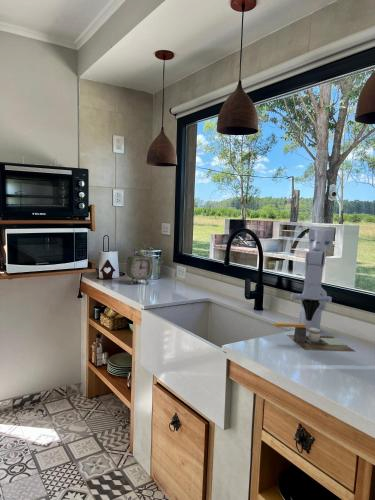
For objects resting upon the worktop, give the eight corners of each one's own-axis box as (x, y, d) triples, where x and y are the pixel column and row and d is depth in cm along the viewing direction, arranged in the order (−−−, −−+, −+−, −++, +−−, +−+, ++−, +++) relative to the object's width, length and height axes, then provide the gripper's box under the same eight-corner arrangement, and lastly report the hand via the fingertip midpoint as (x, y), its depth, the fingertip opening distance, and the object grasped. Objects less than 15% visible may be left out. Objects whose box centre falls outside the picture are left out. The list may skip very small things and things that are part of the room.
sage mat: (319, 338, 141) (319, 337, 141) (336, 339, 142) (336, 338, 142) (329, 345, 134) (329, 344, 134) (347, 345, 135) (347, 344, 135)
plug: (305, 340, 137) (306, 327, 137) (315, 340, 138) (317, 327, 138) (310, 344, 133) (312, 330, 133) (321, 344, 134) (322, 331, 134)
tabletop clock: (129, 285, 220) (131, 243, 217) (124, 282, 227) (126, 242, 225) (151, 284, 227) (154, 244, 224) (145, 282, 235) (148, 243, 232)
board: (286, 337, 143) (288, 321, 142) (331, 338, 145) (333, 322, 145) (304, 352, 127) (306, 334, 126) (355, 354, 130) (357, 336, 129)
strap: (274, 324, 134) (274, 322, 134) (303, 326, 136) (304, 323, 136) (276, 326, 132) (276, 323, 132) (306, 327, 134) (306, 325, 134)
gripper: (296, 284, 129) (292, 321, 130) (337, 287, 130) (332, 324, 131) (290, 280, 136) (286, 316, 137) (328, 283, 137) (324, 318, 138)
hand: (308, 320), depth 135 cm, fingers closed
